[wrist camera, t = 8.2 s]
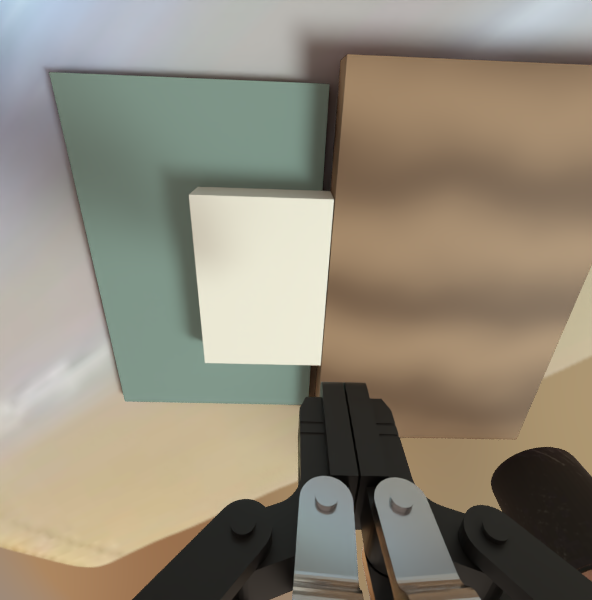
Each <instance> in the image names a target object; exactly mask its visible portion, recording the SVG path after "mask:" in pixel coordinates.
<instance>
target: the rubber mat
mask: <svg viewBox="0 0 592 600" xmlns="http://www.w3.org/2000/svg"><path fill="white" fill-rule="evenodd" d="M49 74H50V78H51V83H52V87H53V91H54V96H55V100H56V104H57V109H58V113H59V117H60V122H61V126H62V130H63V135H64V139H65V143H66V148H67V152H68V156H69V161H70V165H71V169H72V174H73V178H74V182H75V187H76V191H77V195H78V200H79V204H80V208H81V213H82V217H83V221H84V226H85V230H86V234H87V239H88V243H89V247H90V252H91V256H92V260H93V265H94V269H95V273H96V278H97V282H98V286H99V291H100V295H101V299H102V304H103V308H104V312H105V317H106V321H107V325H108V330H109V334H110V338H111V343H112V347H113V351H114V356H115V360H116V364H117V369H118V373H119V377H120V382H121V386H122V390H123V395H124V399H125V401H132V402H182V403H233V404H284V405H302V403H303V401H304V399H305V397H309V382H310V367H311V365H274V364H228V363H205V359H204V348H203V338H202V327H201V317H200V307H199V296H198V286H197V275H196V265H195V255H194V244H193V234H192V224H191V213H190V203H189V194H190V193H191V192H192V191H194V190H195V189H196V188H197V187H223V188H253V189H283V190H313V191H322V188H323V173H324V158H325V143H326V128H327V113H328V98H329V84H319V83H295V82H271V81H248V80H224V79H200V78H176V77H152V76H129V75H105V74H81V73H57V72H49Z"/></svg>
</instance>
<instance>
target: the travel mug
mask: <svg viewBox="0 0 592 600" xmlns="http://www.w3.org/2000/svg"><path fill="white" fill-rule="evenodd" d="M491 486H492V490H493V493H494V495H495V497H496V499H497V501H498V504H499V506H500V508H501V510H502V512H503V513H505V514H506V515H507V516H509V517H510V518H511V519H513V520H514V521H515V522H516V523H518V524H519V525H520V526H522V527H523V528H524V529H525V530H527V531H528V532H529V533H530V534H532V535H533V536H534V537H536V538H537V539H538V540H539V541H541V542H542V543H543V544H545V545H546V546H547V547H548V548H550V549H551V550H552V551H553V552H555V553H556V554H557V555H559V556H560V557H561V558H562V559H564V560H565V561H566V562H568V563H569V564H570V565H571V566H573V567H574V568H575V569H576V570H578V571H579V572H580V573H582V574H583V575H584V576H585V577H587V578H588V579H589V580H591V581H592V477H591V476H590V474H589V473H588V472H587V471H586V470H585V469H584V468H583V467H582V465H581V464H580V463H579V462H578V461H577V460H576V459H575V458H574V457H573V456H572V455H571V454H570V453H568V452H567V451H565V450H562V449H559V448H553V447H541V448H533V449H529V450H525V451H523V452H520V453H518V454H515V455H514V456H512V457H510V458H508V459H507V460H506V461H504V462H503V463H502V464H501V465H500V466H499V467H498V468H497V469H496V470H495V472H494V474H493V477H492V480H491Z"/></svg>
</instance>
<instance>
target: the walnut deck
mask: <svg viewBox="0 0 592 600" xmlns="http://www.w3.org/2000/svg"><path fill="white" fill-rule="evenodd" d="M330 192H331V194H332V196H333V198H334V206H333V218H332V230H331V243H330V255H329V267H328V280H327V292H326V304H325V317H324V329H323V342H322V354H321V366H320V365H317V373H316V386H315V397H319V395H320V384H321V382H343V383H344V382H359V383H366V385H367V389H368V393H369V397H370V398H373V399H382V400H383V401H384V402H385V404H386V405H387V406H388V407H389V408H390V409H391V411H392V414H393V418H394V421H395V426H396V427H397V431H398V434H399V437H413V438H467V439H471V438H472V439H517V437H518V434H519V432H520V430H521V427H522V425H523V423H524V421H525V418H526V416H527V413H528V411H529V409H530V407H531V404H532V402H533V400H534V397H535V395H536V393H537V390H538V388H539V386H540V383H541V381H542V379H543V377H544V374H545V372H546V370H547V367H548V365H549V363H550V360H551V358H552V356H553V353H554V351H555V349H556V346H557V344H558V342H559V339H560V337H561V335H562V333H563V330H564V328H565V326H566V323H567V321H568V319H569V316H570V314H571V312H572V309H573V307H574V305H575V302H576V300H577V298H578V295H579V293H580V291H581V289H582V286H583V284H584V282H585V279H586V277H587V275H588V272H589V270H590V268H591V265H592V65H579V64H556V63H533V62H511V61H488V60H465V59H443V58H420V57H397V56H375V55H352V54H347V55H346V56H345V57H344V58H343V59H342V60H341V61H340V73H339V86H338V99H337V112H336V125H335V138H334V151H333V164H332V177H331V190H330Z"/></svg>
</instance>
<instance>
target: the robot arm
mask: <svg viewBox="0 0 592 600" xmlns="http://www.w3.org/2000/svg"><path fill="white" fill-rule="evenodd" d="M355 530H362V536H363V543H364V546H363V550H362V563H363V568H364V572H365V577H366V582H367V586H368V591H369V596H370V600H592V581H591V580H589V579H588V578H587V577H585V576H584V575H583V574H582V573H580V572H579V571H578V570H576V569H575V568H574V567H573V566H571V565H570V564H569V563H568V562H566V561H565V560H564V559H562V558H561V557H560V556H559V555H557V554H556V553H555V552H553V551H552V550H551V549H550V548H548V547H547V546H546V545H545V544H543V543H542V542H541V541H539V540H538V539H537V538H536V537H534V536H533V535H532V534H530V533H529V532H528V531H527V530H525V529H524V528H523V527H522V526H520V525H519V524H518V523H516V522H515V521H514V520H513V519H511V518H510V517H509V516H507V515H506V514H505V513H503V512H501V511H500V510H498V509H496V508H493V507H490V506H484V505H477V506H473V507H471V508H470V509H468V510H467V512H466V513H461V512H458V511H455V510H452V509H449V508H446V507H443V506H441V505H438V504H436V503H434V502H432V501H430V500H429V499H428V498H427V497H425V495H424V493H423V492H422V491H421V490H420V489H419V488H418V487H417V486H416V485H415V484H414V482H413V479H412V477H411V473H410V470H409V466H408V463H407V460H406V457H405V453H404V450H403V447H402V444H401V440H400V437H399V434H398V431H397V427H396V426H395V421H394V418H393V414H392V411H391V409H390V408H389V407H388V406H387V405H386V404H385V402H384V401H383V400H382V399H373V398H370V397H369V393H368V389H367V385H366V383H359V382H344V383H343V382H321V384H320V395H319V397H305V399H304V401H303V403H302V405H301V407H300V412H299V431H298V488H297V489H296V491H295V492H294V493H293V495H292V496H290V497H289V498H288V499H287V500H285V501H283V502H280V503H277V504H274V505H271V506H268V507H264V506H263V505H262V504H261V503H259V502H257V501H255V500H251V499H242V500H237V501H235V502H232V503H231V504H229V505H227V506H226V507H225V508H224V509H223V510H222V511H221V512H220V513H219V514H218V515H217V516H216V517H215V518H214V519H213V520H212V521H211V522H210V523H209V524H208V525H207V526H206V527H205V528H204V529H203V530H202V531H201V532H200V533H199V534H198V535H197V536H196V537H195V538H194V539H193V540H192V541H191V542H190V543H189V544H188V545H187V546H186V547H185V548H184V549H183V550H182V551H181V552H180V553H179V554H178V555H177V556H176V557H175V558H174V559H173V560H172V561H171V562H170V563H169V564H168V565H167V566H166V567H165V568H164V569H163V570H162V571H161V572H159V573H158V574H157V575H156V576H155V578H154V579H152V580H151V581H150V583H149V584H148V585H146V586H145V587H144V588H143V589H142V590H141V592H139V593H138V594H137V595H136V596H135V597H134V598H133V599H132V600H270V599H273V598H275V597H278V596H280V595H282V594H285V593H287V592H290V591H292V590H293V595H292V600H364V599H363V594H362V590H360V588H359V581H358V567H357V552H356V537H355Z"/></svg>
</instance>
